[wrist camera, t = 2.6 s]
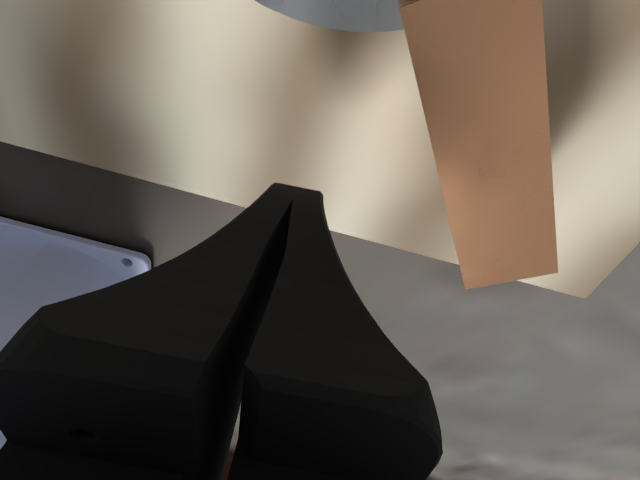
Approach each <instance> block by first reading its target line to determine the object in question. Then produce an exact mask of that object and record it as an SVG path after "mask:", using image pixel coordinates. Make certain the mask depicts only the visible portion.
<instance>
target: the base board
mask: <svg viewBox="0 0 640 480" xmlns="http://www.w3.org/2000/svg"><path fill="white" fill-rule="evenodd" d="M542 8H543V25H544V42H545V59H546V75H547V92H548V109H549V126H550V143H551V159H552V176H553V193H554V210H555V227H556V243H557V260H558V273H554V274H549V275H543V276H538V277H532V278H527V279H521V280H517V281H521V282H525V283H529V284H532V285H536V286H540V287H543V288H547V289H551V290H555V291H558V292H562V293H566V294H569V295H573V296H577V297H581V298H584V299H586V298H587V297H588V296H589V295H590V293H591V292H592V291H593V290H594V289H595V288H596V287H597V286H598V285H599V284H600V283H601V282H602V281H603V280H604V279H605V278H606V277H607V276H608V275H609V274H610V272H611V271H612V270H613V269H614V268H615V267H616V266H617V265H618V264H619V263H620V262H621V261H622V260H623V259H624V258H625V257H626V256H627V255H628V254H629V253H630V251H631V250H632V249H633V248H634V247H635V246H636V245H637V244H638V243H639V242H640V0H542ZM0 141H1V142H5V143H8V144H12V145H16V146H20V147H23V148H27V149H31V150H34V151H38V152H42V153H46V154H49V155H53V156H57V157H60V158H64V159H68V160H72V161H75V162H79V163H83V164H86V165H90V166H94V167H98V168H101V169H105V170H109V171H112V172H116V173H120V174H124V175H127V176H131V177H135V178H138V179H142V180H146V181H150V182H153V183H157V184H161V185H164V186H168V187H172V188H176V189H179V190H183V191H187V192H190V193H194V194H198V195H202V196H205V197H209V198H213V199H216V200H220V201H224V202H228V203H231V204H235V205H239V206H243V207H246V208H248V207H249V206H250V205H251V204H252V203H253V202H254V201H255V200H256V199H258V198H259V197H260V196H261V195H262V194H263V193H264V192H265V191H266V190H267V189H268V188H269V186H270V185H272V184H273V183H275V182H276V183H281V184H286V185H291V186H296V187H301V188H307V189H312V190H317V191H321V193H322V194H323V196H324V197H323V203H324V210H325V215H326V220H327V224H328V227H329V230H332V231H335V232H339V233H343V234H347V235H350V236H354V237H358V238H361V239H365V240H369V241H373V242H376V243H380V244H384V245H387V246H391V247H395V248H399V249H402V250H406V251H410V252H413V253H417V254H421V255H425V256H428V257H432V258H436V259H439V260H443V261H447V262H451V263H454V264H458V265H459V261H458V257H457V253H456V249H455V244H454V240H453V236H452V232H451V228H450V224H449V219H448V215H447V211H446V207H445V202H444V198H443V194H442V189H441V185H440V181H439V177H438V172H437V168H436V164H435V160H434V155H433V151H432V147H431V143H430V138H429V134H428V130H427V125H426V121H425V117H424V113H423V108H422V104H421V100H420V96H419V91H418V87H417V83H416V79H415V74H414V70H413V66H412V61H411V57H410V53H409V49H408V44H407V40H406V36H405V32H404V29H403V30H396V31H390V32H352V31H344V30H337V29H329V28H323V27H320V26H316V25H313V24H309V23H306V22H302V21H298V20H295V19H292V18H290V17H288V16H285V15H283V14H281V13H279V12H276V11H274V10H272V9H269V8H267V7H265V6H263V5H261V4H260V3H258V2H256V1H255V0H0Z"/></svg>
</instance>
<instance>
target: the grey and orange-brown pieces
mask: <svg viewBox="0 0 640 480" xmlns="http://www.w3.org/2000/svg"><path fill="white" fill-rule="evenodd" d="M255 1H256V2H258V3H260V4H261V5H263V6H265V7H267V8H269V9H272V10H274V11H276V12H279V13H281V14H283V15H285V16H288V17H290V18H292V19H295V20H298V21H302V22H306V23H309V24H313V25H316V26H320V27H323V28H329V29H337V30H344V31H352V32H390V31H396V30H403V29H404V32H405V36H406V40H407V44H408V49H409V53H410V57H411V61H412V66H413V70H414V74H415V79H416V83H417V87H418V91H419V96H420V100H421V104H422V108H423V113H424V117H425V121H426V125H427V130H428V134H429V138H430V143H431V147H432V151H433V155H434V160H435V164H436V168H437V172H438V177H439V181H440V185H441V189H442V194H443V198H444V202H445V207H446V211H447V215H448V219H449V224H450V228H451V232H452V236H453V240H454V244H455V249H456V253H457V257H458V261H459V265H460V269H461V273H462V278H463V282H464V286H465V289H471V288H477V287H482V286H488V285H493V284H499V283H504V282H510V281H515V280H521V279H527V278H532V277H538V276H543V275H549V274H554V273H558V260H557V243H556V227H555V210H554V193H553V176H552V159H551V143H550V126H549V109H548V92H547V75H546V59H545V42H544V25H543V8H542V0H255Z"/></svg>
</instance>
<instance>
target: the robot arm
mask: <svg viewBox="0 0 640 480" xmlns="http://www.w3.org/2000/svg"><path fill="white" fill-rule="evenodd" d="M323 197H324V196H323V194H322V193H321V191H317V190H312V189H307V188H301V187H296V186H291V185H286V184H281V183H276V182H275V183H273V184H272V185H270V186H269V188H268V189H267V190H266V191H265V192H264V193H263V194H262V195H261V196H260V197H259V198H258V199H256V200H255V201H254V202H253V203H252V204H251V205H250V206H249V207H248V208H246V209H245V210H244V211H243V212H242V213H241V214H239V215H238V216H237V217H236V218H235V219H233V220H232V221H231V222H230V223H228V224H227V225H226V226H224V227H223V228H221V229H220V230H219V231H217V232H216V233H215V234H213V235H212V236H210V237H209V238H207V239H206V240H204V241H203V242H201V243H200V244H198V245H197V246H195V247H193V248H192V249H190V250H188V251H187V252H185V253H183V254H181V255H179V256H178V257H176V258H174V259H172V260H169V261H167V262H165V263H163V264H161V265H159V266H157V267H155V268H153V269H151V261H150V259H149V257H148V256H146V255H145V254H143V253H140V252H136V251H132V250H128V249H125V248H121V247H117V246H113V245H109V244H105V243H101V242H97V241H93V240H89V239H86V238H82V237H78V236H74V235H70V234H66V233H62V232H58V231H54V230H51V229H47V228H43V227H39V226H35V225H31V224H27V223H23V222H19V221H15V220H12V219H8V218H4V217H0V480H222V476H223V472H224V468H225V464H226V460H227V456H228V452H229V447H230V443H231V439H232V435H233V431H234V427H235V423H236V419H237V415H238V411H239V407H240V404H241V413H240V425H239V437H238V441H237V445H236V449H235V453H234V456H233V460H232V464H231V468H230V471H229V475H228V480H426V479H427V477H428V476H429V475H430V473H431V472H432V471H433V469H434V468H435V467H436V466H437V464H438V463H439V460H440V458H441V456H442V454H443V451H442V437H441V430H440V424H439V420H438V416H437V412H436V408H435V404H434V400H433V397H432V394H431V390H430V387H429V384H428V382H427V380H426V379H425V378H424V377H423V376H422V375H421V374H420V373H419V372H418V371H417V370H416V369H415V368H414V367H413V366H412V365H411V364H410V363H409V361H408V360H407V359H406V358H405V357H404V356H403V355H402V354H401V353H400V352H399V351H398V350H397V349H396V348H395V346H394V345H393V344H392V343H391V342H390V340H389V339H388V338H387V337H386V335H385V334H384V333H383V331H382V330H381V329H380V327H379V326H378V324H377V323H376V322H375V320H374V319H373V317H372V316H371V314H370V313H369V312H368V310H367V309H366V307H365V306H364V304H363V303H362V301H361V299H360V298H359V296H358V294H357V293H356V291H355V289H354V287H353V285H352V284H351V282H350V280H349V278H348V276H347V274H346V272H345V270H344V268H343V265H342V263H341V261H340V258H339V256H338V254H337V251H336V249H335V246H334V243H333V240H332V237H331V234H330V231H329V227H328V224H327V220H326V215H325V210H324V203H323ZM126 258H127V259H126ZM128 259H129V260H130V261H129V260H128ZM241 400H242V401H241Z"/></svg>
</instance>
